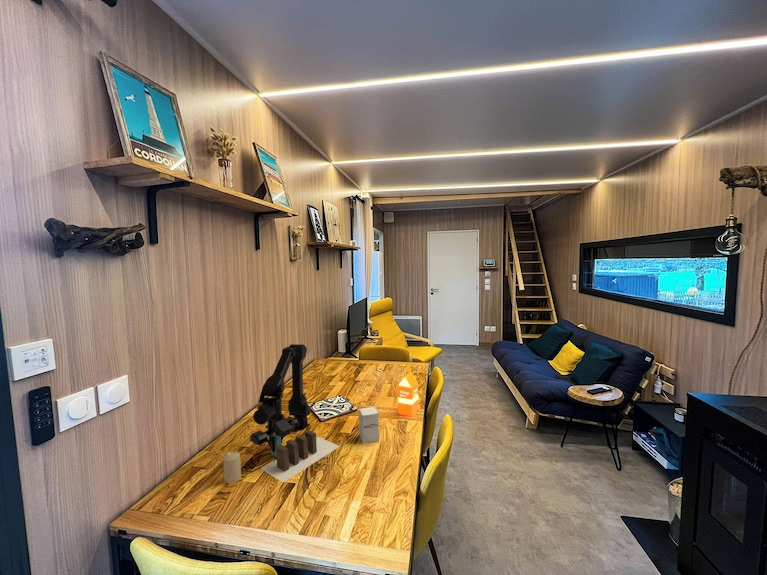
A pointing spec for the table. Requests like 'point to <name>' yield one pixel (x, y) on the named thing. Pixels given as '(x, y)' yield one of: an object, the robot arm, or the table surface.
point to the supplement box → (369, 425)
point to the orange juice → (408, 395)
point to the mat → (301, 461)
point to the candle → (232, 467)
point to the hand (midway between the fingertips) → (276, 450)
